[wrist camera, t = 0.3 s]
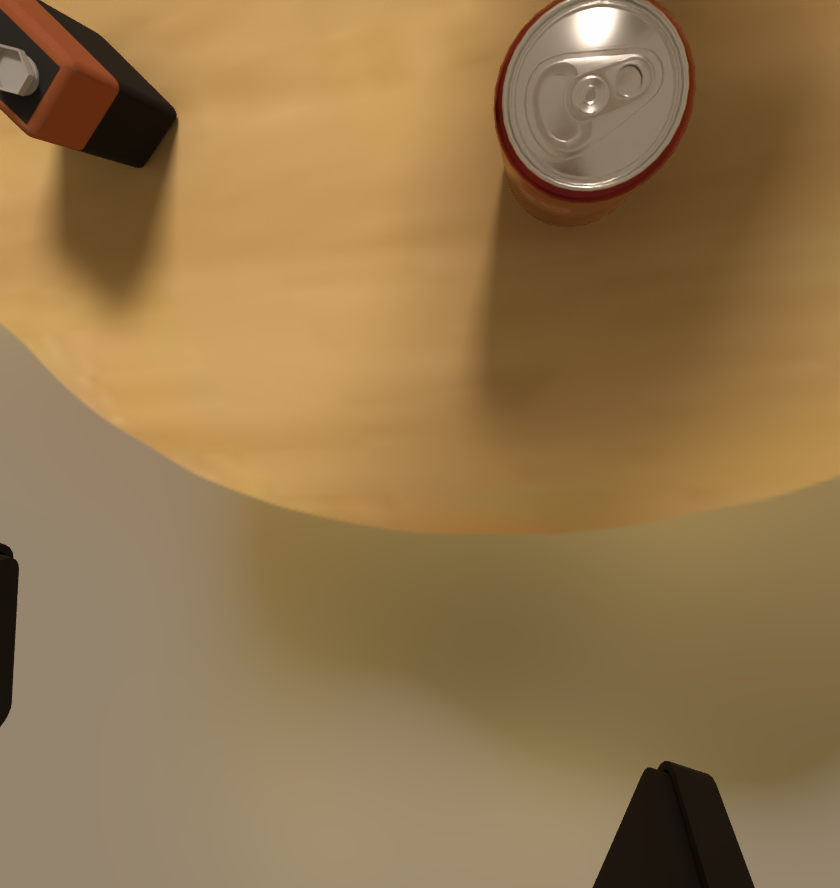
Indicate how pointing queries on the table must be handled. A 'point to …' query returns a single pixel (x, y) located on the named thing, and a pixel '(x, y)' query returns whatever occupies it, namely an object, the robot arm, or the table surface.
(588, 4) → the soda can
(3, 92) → the battery
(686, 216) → the table surface
